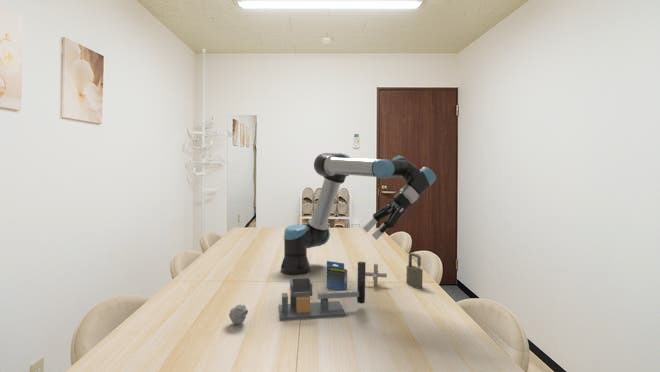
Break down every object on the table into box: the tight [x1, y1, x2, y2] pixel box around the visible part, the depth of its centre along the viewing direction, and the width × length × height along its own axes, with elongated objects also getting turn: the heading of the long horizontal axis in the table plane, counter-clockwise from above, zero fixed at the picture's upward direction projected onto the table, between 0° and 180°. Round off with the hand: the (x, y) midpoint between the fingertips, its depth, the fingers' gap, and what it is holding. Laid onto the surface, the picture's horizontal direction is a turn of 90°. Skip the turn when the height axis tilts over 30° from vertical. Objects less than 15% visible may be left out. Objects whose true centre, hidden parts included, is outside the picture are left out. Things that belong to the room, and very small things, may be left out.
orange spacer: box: [296, 296, 311, 313], centre depth 135 cm, size 5×5×5 cm
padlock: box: [405, 252, 424, 289], centre depth 165 cm, size 4×8×15 cm, turn 28°
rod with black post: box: [317, 261, 367, 304], centre depth 137 cm, size 18×3×16 cm, turn 100°
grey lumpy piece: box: [228, 304, 249, 326], centre depth 124 cm, size 6×7×7 cm
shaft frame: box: [278, 276, 347, 321], centre depth 135 cm, size 24×12×12 cm, turn 100°
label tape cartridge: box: [326, 260, 348, 291], centre depth 161 cm, size 9×4×12 cm, turn 65°
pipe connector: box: [365, 263, 388, 287], centre depth 165 cm, size 10×10×10 cm
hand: (369, 233), depth 147 cm, fingers open, 13 cm apart
